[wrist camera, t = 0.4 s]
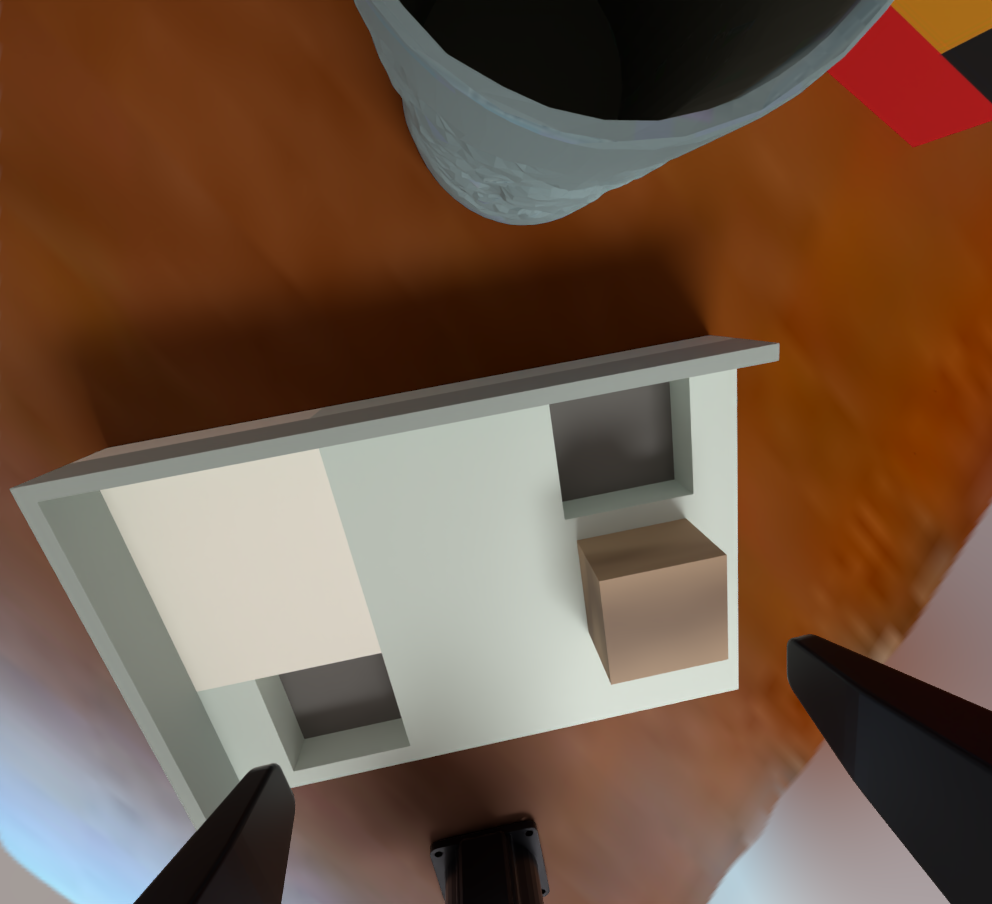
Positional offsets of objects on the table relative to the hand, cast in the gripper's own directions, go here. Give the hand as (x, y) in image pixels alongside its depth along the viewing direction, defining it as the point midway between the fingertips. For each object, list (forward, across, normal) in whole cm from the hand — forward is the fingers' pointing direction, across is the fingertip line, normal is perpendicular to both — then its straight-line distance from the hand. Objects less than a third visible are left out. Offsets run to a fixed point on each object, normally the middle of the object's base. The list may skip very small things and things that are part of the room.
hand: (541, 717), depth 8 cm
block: (+12, -6, +6) cm, 15 cm away
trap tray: (+14, +2, +5) cm, 15 cm away
